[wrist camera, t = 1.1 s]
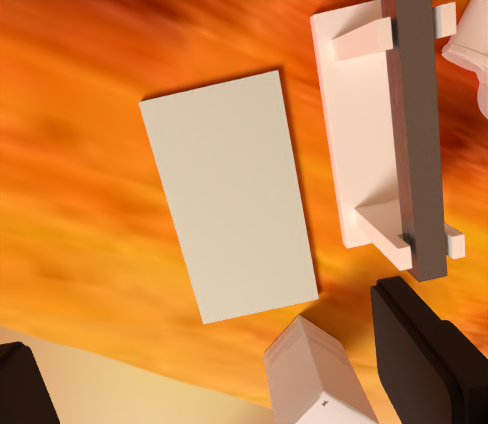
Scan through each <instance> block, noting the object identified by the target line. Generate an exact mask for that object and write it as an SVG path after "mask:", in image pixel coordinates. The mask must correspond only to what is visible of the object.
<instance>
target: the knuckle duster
mask: <svg viewBox="0 0 488 424" xmlns="http://www.w3.org/2000/svg"><path fill="white" fill-rule="evenodd" d="M456 32H457V34H454V35H452V36H451V38H450V39H449V41H448V43H447V44H446V45H444V47H443V49H442V52H443V53H442V56H443V57H444V58H445V59H447V60H449V61H450V62H452V63H454V64H456V65H458V66H460V67H462V68H464V69H467V70H470V71H473V72H475V73H476V75H477V77H478V80H479V83H480V85H479V88H478V94H477V101H478V106H479V109H480V111H481V112H482V114H483V115H484V116H485V117H486V118H487V119H488V0H470V2H469V4H468V6H467V7H466V9H465V11H464V13H463V15H462V17H461V19H460V21H459V23H458V24H457V26H456Z"/></svg>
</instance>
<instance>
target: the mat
mask: <svg viewBox="0 0 488 424" xmlns="http://www.w3.org/2000/svg"><path fill="white" fill-rule="evenodd" d="M138 103H139V106H140V110H141V113H142V116H143V120H144V123H145V127H146V130H147V133H148V137H149V140H150V144H151V147H152V150H153V154H154V157H155V161H156V164H157V167H158V171H159V174H160V178H161V181H162V185H163V188H164V191H165V195H166V198H167V202H168V205H169V208H170V212H171V215H172V219H173V222H174V225H175V229H176V232H177V236H178V239H179V242H180V246H181V249H182V253H183V256H184V259H185V263H186V266H187V270H188V273H189V276H190V280H191V283H192V287H193V290H194V294H195V297H196V300H197V304H198V307H199V311H200V314H201V317H202V321H203V324H207V323H212V322H216V321H221V320H225V319H230V318H235V317H239V316H244V315H248V314H253V313H257V312H262V311H267V310H271V309H276V308H280V307H285V306H289V305H294V304H299V303H303V302H308V301H312V300H317V299H319V297H318V292H317V286H316V281H315V275H314V269H313V264H312V258H311V253H310V247H309V241H308V236H307V230H306V224H305V219H304V213H303V208H302V202H301V196H300V191H299V185H298V179H297V174H296V168H295V163H294V157H293V151H292V146H291V140H290V134H289V129H288V123H287V118H286V112H285V106H284V101H283V95H282V89H281V84H280V78H279V73H278V70H276V71H272V72H268V73H263V74H259V75H255V76H250V77H246V78H241V79H237V80H233V81H228V82H224V83H220V84H215V85H211V86H207V87H202V88H198V89H194V90H189V91H185V92H181V93H176V94H172V95H168V96H163V97H159V98H154V99H150V100H146V101H141V102H138Z"/></svg>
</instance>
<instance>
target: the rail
mask: <svg viewBox="0 0 488 424" xmlns="http://www.w3.org/2000/svg"><path fill="white" fill-rule="evenodd" d="M381 8H382V18H387V17H390V20H391V31H392V42H393V49H389V50H385V51H386V62H387V73H388V84H389V94H390V105H391V116H392V127H393V137H394V148H395V159H396V169H397V180H398V191H399V202H400V212H401V223H402V234H403V241H405V242H406V243H407V244H408V245H409V246H410V249H411V260H412V268H411V269H406V270H407V271H408V272H409V273H410V274H411V275H412V276H413V277H414V278H415V279H416V280H417V281H418V282H422V281H427V280H431V279H436V278H440V277H445V276H447V263H446V245H445V227H444V209H443V191H442V173H441V155H440V137H439V119H438V101H437V83H436V65H435V47H434V28H433V10H432V0H381Z"/></svg>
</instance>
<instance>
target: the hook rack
mask: <svg viewBox="0 0 488 424" xmlns="http://www.w3.org/2000/svg"><path fill="white" fill-rule="evenodd" d="M432 10H433V28H434V39H437V38H442V37H446V36H450V35H454V34H457V32H456V6H455V2H452V3H447V4H443V5H439V6H437V7H434V8H432ZM310 21H311V28H312V35H313V42H314V48H315V55H316V62H317V69H318V76H319V82H320V89H321V96H322V103H323V110H324V116H325V123H326V130H327V137H328V144H329V150H330V157H331V164H332V171H333V178H334V184H335V191H336V198H337V205H338V212H339V218H340V225H341V232H342V239H343V244H344V245H345V246H346V248H352V247H356V246H361V245H366V244H370V243H373V244H374V245H375V246H376V247H377V248H378V249H379V250H380V251H381V252H382V253H383V254H384V255H385V256H386V257H387V258H388V259H389V260H390V261H391V262H392V263H393V264H394V265H395V266H396V267H397V268H398V269H399V270H400V271H402V270H406V269H411V268H412V260H411V249H410V246H409V245H408V244H407V243H406V242H405V241H403V234H402V223H401V212H400V202H399V191H398V180H397V169H396V159H395V148H394V137H393V127H392V116H391V105H390V94H389V84H388V73H387V62H386V51H385V50H389V49H393V42H392V31H391V20H390V17H387V18H382V8H381V0H375V1H370V2H366V3H362V4H358V5H353V6H349V7H345V8H340V9H336V10H332V11H327V12H323V13H319V14H314V15H313V16H311V17H310ZM444 227H445V245H446V254H447V255H448V256H449V257H451V258H452V259H456V258H461V257H465V241H464V234H463V233H461V232H459V231H458V230H456V229H454V228H453V227H451V226H449V225H448V224H446V223H444Z"/></svg>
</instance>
